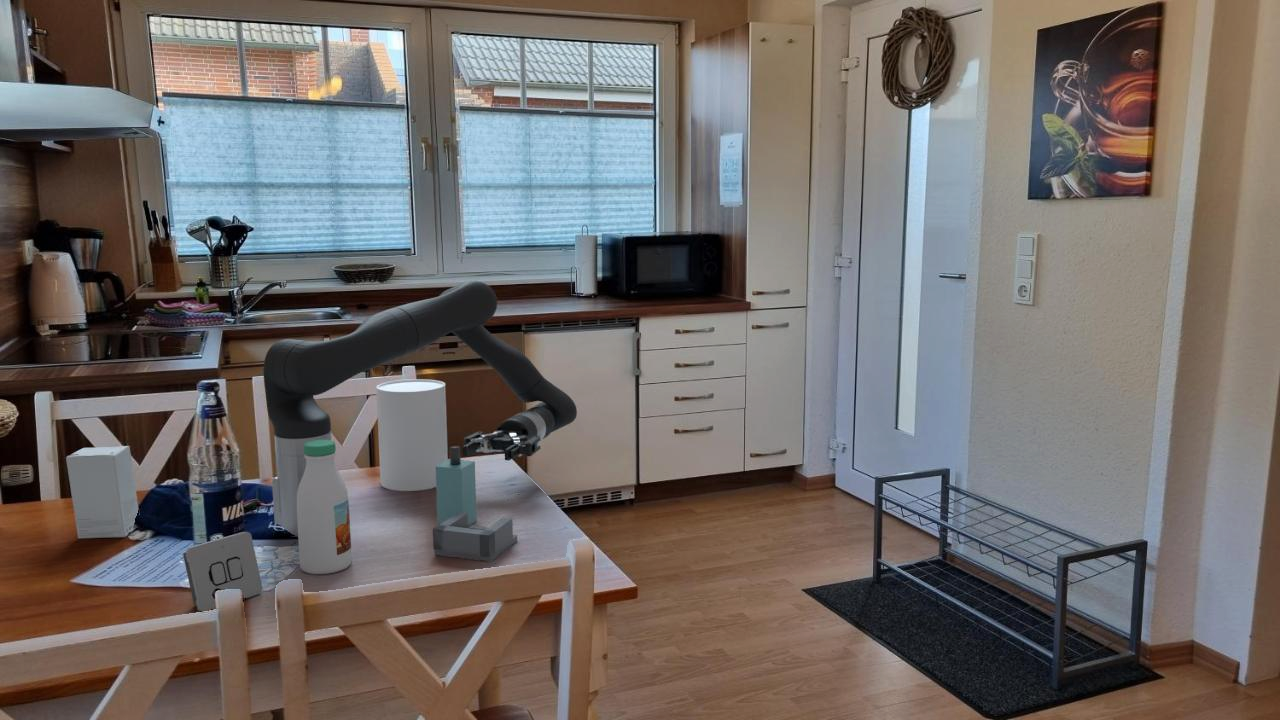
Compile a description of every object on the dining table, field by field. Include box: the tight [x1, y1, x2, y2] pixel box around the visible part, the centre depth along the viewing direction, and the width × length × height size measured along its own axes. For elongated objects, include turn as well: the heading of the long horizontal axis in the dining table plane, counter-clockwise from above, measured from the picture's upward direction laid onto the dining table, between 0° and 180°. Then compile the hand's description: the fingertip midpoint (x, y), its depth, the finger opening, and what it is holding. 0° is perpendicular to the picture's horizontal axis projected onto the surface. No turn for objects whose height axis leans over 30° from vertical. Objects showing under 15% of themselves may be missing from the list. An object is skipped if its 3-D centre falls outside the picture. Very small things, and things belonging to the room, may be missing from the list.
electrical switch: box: [182, 531, 263, 612], centre depth 135 cm, size 9×5×9 cm, turn 141°
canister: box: [375, 378, 449, 492], centre depth 191 cm, size 14×14×20 cm
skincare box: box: [65, 445, 140, 539], centre depth 161 cm, size 8×6×15 cm
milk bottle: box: [297, 439, 353, 575], centre depth 146 cm, size 8×8×20 cm
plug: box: [435, 445, 477, 527], centre depth 166 cm, size 5×5×14 cm
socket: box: [432, 512, 518, 563], centre depth 155 cm, size 10×10×4 cm
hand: (485, 453), depth 176 cm, fingers open, 8 cm apart
